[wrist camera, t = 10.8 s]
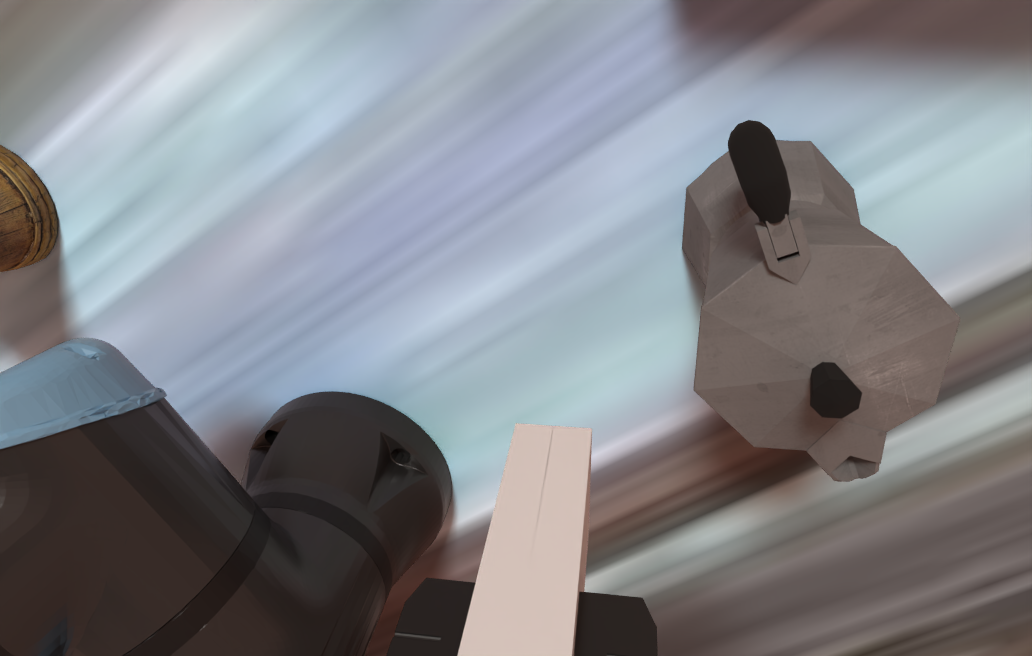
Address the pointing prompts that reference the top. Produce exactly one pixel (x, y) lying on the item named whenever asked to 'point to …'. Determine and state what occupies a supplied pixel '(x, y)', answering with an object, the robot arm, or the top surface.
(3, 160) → the wooden mug
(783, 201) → the coffeepot
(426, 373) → the top surface
